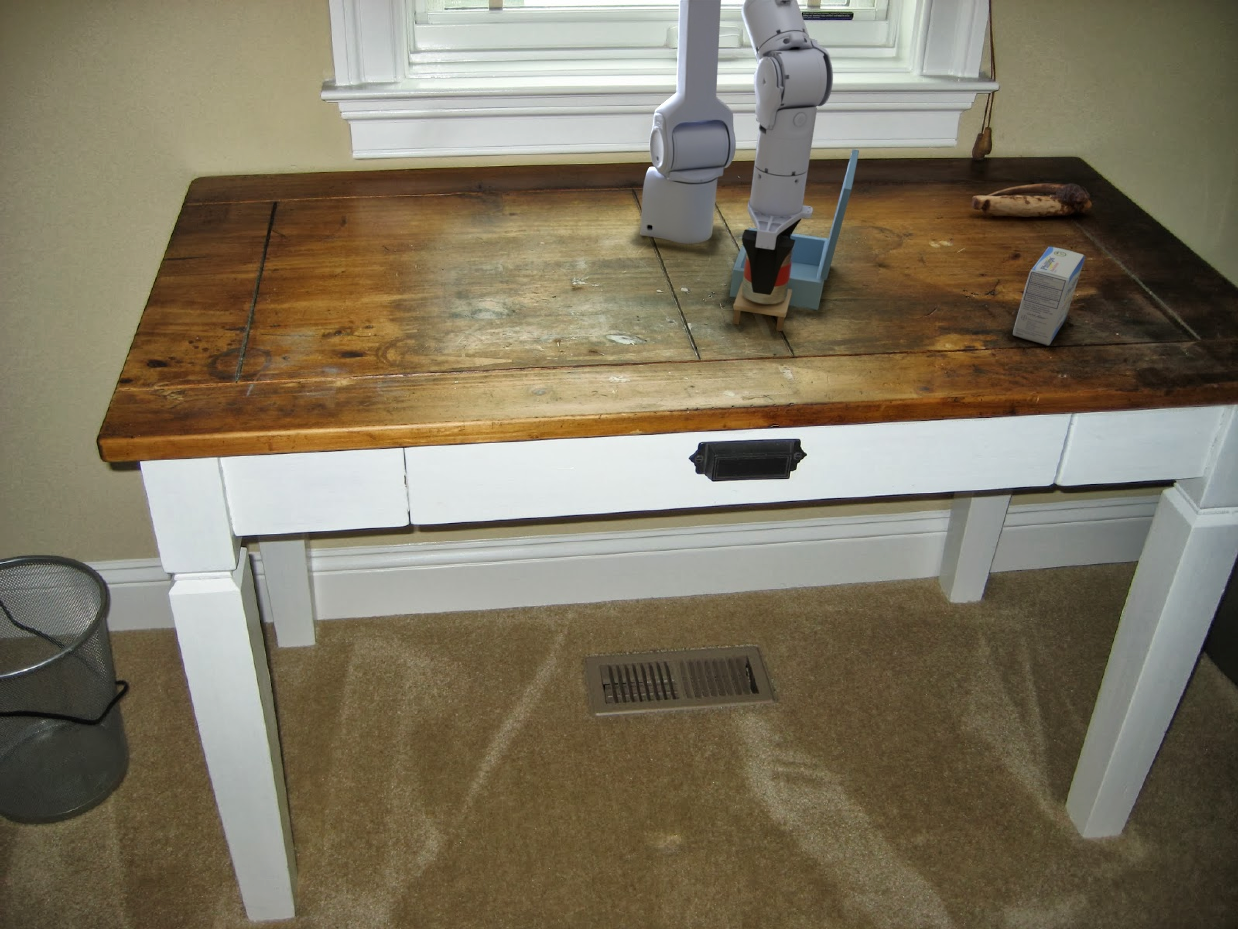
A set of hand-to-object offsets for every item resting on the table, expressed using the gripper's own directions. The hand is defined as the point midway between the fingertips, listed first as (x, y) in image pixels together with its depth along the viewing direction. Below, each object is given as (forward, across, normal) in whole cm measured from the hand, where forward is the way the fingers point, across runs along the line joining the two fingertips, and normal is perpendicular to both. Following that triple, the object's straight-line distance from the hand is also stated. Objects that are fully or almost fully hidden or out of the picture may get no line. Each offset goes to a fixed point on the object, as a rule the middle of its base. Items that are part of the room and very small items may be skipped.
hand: (765, 281), depth 123 cm
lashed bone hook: (+5, +45, -32) cm, 55 cm away
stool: (+5, 0, 0) cm, 5 cm away
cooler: (+5, +10, -1) cm, 11 cm away
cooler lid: (-5, +10, -6) cm, 13 cm away
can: (+2, 0, 0) cm, 2 cm away
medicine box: (+5, +9, -32) cm, 34 cm away
